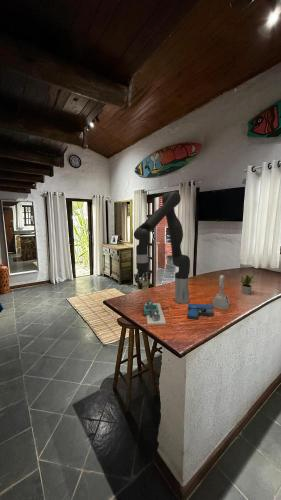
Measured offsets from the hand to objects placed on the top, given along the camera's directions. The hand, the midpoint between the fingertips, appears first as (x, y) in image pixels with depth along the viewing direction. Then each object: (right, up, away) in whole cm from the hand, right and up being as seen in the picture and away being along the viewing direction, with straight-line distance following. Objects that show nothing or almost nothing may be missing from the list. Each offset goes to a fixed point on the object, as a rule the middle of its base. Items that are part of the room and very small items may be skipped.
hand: (143, 287), depth 131 cm
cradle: (+5, -15, -2) cm, 15 cm away
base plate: (+7, -15, -2) cm, 17 cm away
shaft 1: (+5, -13, +6) cm, 15 cm away
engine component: (+52, -13, +7) cm, 54 cm away
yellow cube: (0, -1, 0) cm, 1 cm away
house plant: (+80, -10, +28) cm, 85 cm away
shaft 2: (+6, -16, -10) cm, 20 cm away
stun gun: (+34, -16, -5) cm, 38 cm away
